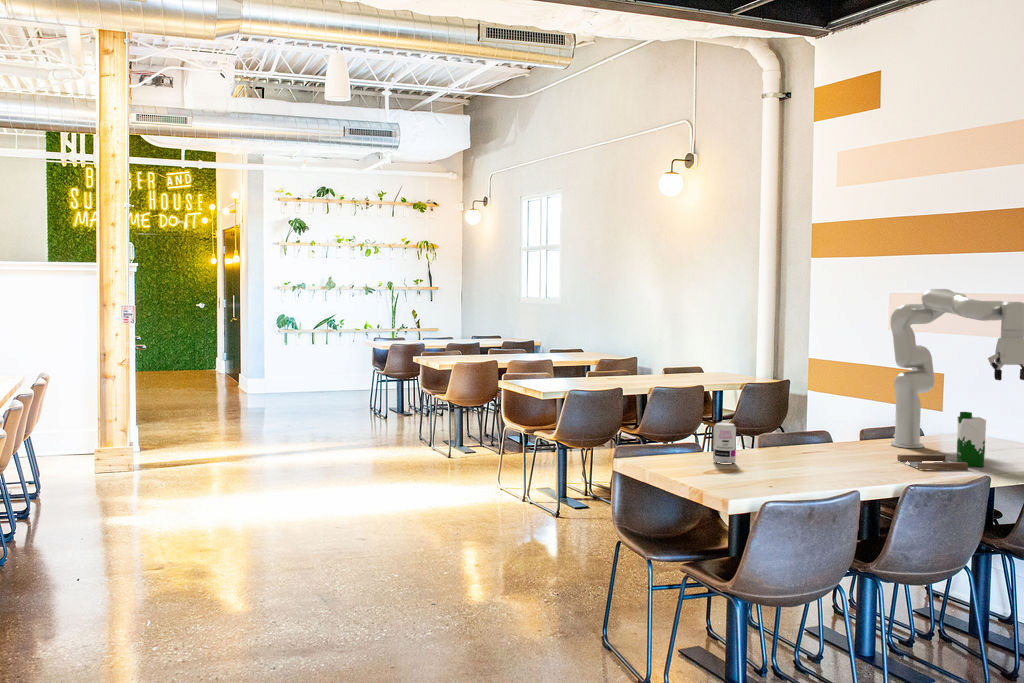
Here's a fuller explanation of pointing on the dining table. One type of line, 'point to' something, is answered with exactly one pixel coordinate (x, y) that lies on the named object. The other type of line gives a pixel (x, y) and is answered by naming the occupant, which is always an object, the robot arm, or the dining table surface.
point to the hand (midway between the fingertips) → (1010, 379)
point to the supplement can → (724, 443)
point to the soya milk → (971, 439)
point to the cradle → (917, 462)
